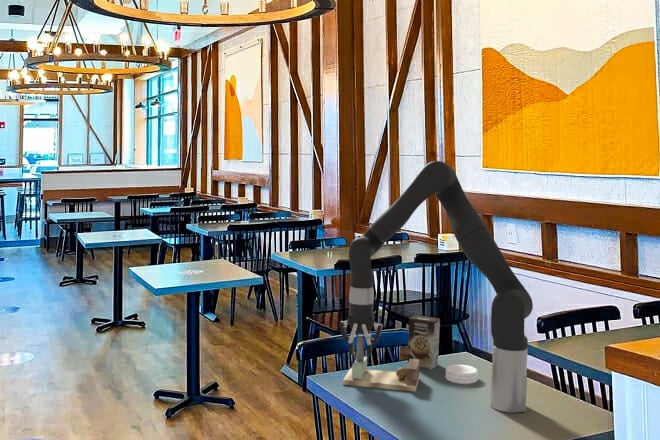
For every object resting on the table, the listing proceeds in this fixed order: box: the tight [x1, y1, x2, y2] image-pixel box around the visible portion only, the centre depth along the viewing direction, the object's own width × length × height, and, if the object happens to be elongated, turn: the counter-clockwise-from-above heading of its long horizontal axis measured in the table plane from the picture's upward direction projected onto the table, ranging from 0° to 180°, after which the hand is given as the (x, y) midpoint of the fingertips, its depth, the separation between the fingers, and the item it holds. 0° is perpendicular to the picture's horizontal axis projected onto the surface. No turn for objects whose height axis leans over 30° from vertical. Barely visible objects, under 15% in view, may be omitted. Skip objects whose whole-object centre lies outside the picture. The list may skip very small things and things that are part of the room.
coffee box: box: [407, 314, 441, 370], centre depth 210 cm, size 9×6×16 cm
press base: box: [342, 359, 420, 393], centre depth 192 cm, size 22×12×6 cm, turn 77°
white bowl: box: [445, 364, 479, 385], centre depth 197 cm, size 10×10×4 cm
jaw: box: [351, 334, 368, 379], centre depth 193 cm, size 3×10×12 cm, turn 167°
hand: (360, 354), depth 193 cm, fingers open, 4 cm apart
